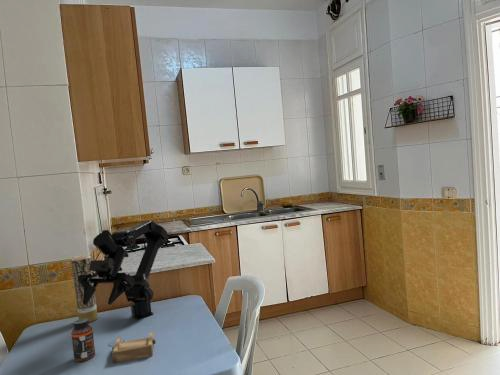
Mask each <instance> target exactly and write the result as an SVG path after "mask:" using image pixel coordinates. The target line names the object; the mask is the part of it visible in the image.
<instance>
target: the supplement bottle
mask: <svg viewBox="0 0 500 375" xmlns="http://www.w3.org/2000/svg"><path fill="white" fill-rule="evenodd" d="M89 323H90V322H88V319H80V320H79V319H77V320H74V322H73V329H72V330H71V332H70V334H71V335H70V336H71V341H72V352H73V359H74V361H75V362H84V361H89V360H90V359H92V358H94V356H95V355H96V348H95V347H96V346H95V341H94V340H95V339H94V329H93V326H92V325H91V324H89Z"/></svg>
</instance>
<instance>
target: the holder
mask: <svg viewBox="0 0 500 375" xmlns="http://www.w3.org/2000/svg"><path fill="white" fill-rule="evenodd" d="M156 342H157V341H156V339H155V336H154V331H153V330H152V331H150V332H149V336H148V337H143V338H139V339H134V340H130V341H122V337H121V336H119V337H117V339H116V341H115V344H114V346H112V348H111V350H112V352H111V356H112V363H113V364H116V363H117V364H118V363H122V362H127V361H133V360H138V359H142V358H146V357H147V358H148V357H152V356H153V355H154V345H155V344H156Z"/></svg>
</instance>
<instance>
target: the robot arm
mask: <svg viewBox="0 0 500 375" xmlns="http://www.w3.org/2000/svg"><path fill="white" fill-rule="evenodd" d="M142 236H143V237H144V238H145V242H146V247H145V249H144V252H143V254H142V257H141V260H140V262H139V264H138V268H137V269H136V273H135V274H134V275H130V273H129V272H123V268H122V265H123V261H124V259H125V258H129V253H128V250H127V249H125V248H127V247H131V246H133V245H134V244H135V243H136V242H137V241H136V240H137V239H138V238H140V237H142ZM168 237H169V236H168V231H167V230H166V229H165V228H164V227H163V226H162V225H159V224H157V223H156V222H155V221H153V220H142V221H141V222H140V223H138V224H135V225H134V226H133V227H130V228H128V229H124V230H118V231H117V230H116V231H114V232H112V233H111V232H110V230H109V229H104V230H102V231H101V232H100V233H99V234H97V235H96V236H95V237H94V238H93V240H92V243H93V245H94V246H95V248H97V250H99V251H100V252H101V254H102V255H103V256H104V255H105V256H106V257H105V258H104V260H103V259H102V260H101V259H98V260H97V259H96V260H91V261H90V266H89V271H92V272H95V273H94V274H95V275H96V277H95V276H94V274H93V275H92V274H81V275H79V278H78V280H77V281H78V282H79V283H80V284H81V285H82V286H83V289H84V298H83V304H84V305H86V304H87V303H88V302H89V300H90V299H91V297H92V295H93V294H94V292H95V293H96V290H97V287H98V284H113V285H112V286H113V287H112V289H111V292H110V295H109V297H108V301H107V304H108V305H109V306H110V305H113V303H114V302H115V301H116V300H117V299H118V298H119V297H120V296H121V295H122V294H124V295H125V297H126V300H127V302H130V303H131V305H130V312H131V314H130V316H131V317H133V319H134V318H135V319H136V320H140V319H143V318H146V317H149V316H152V315H154V312H153V311H152V305H151V301H152V300H153V298H154V290H152V289H151V288H150V282H149V276H150V273H151V271H152V267H153V265H154V262H155V259H156V256H157V254H158V251H159V249H160V248H161V247H163V246H164V245H165V243H166V241H167V239H168ZM124 247H125V248H124ZM97 276H98V277H97Z"/></svg>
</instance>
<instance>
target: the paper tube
mask: <svg viewBox="0 0 500 375" xmlns="http://www.w3.org/2000/svg"><path fill="white" fill-rule="evenodd" d="M90 261H92V257H91V254H83V255H78V256H74V257H72V258H71V266H72V267H71V268H72V274H73V276H72V277H73V284H74V292H75V299H76V301H75V302H76V309H77V316H78V317H77V318H78V320H80V319H88V322H89V323H92V322H95V321H96V320H97V319H98V309H97V299H96V291H95V292H94V294H93V295H92V297H91V299H90V300H89V302H88V303H87V304H86V305H84V304H83V298H84V289H83V286H82V285H81V284H80V283H79V282H78V281H77V280H78V278H79V275H81V274H92V275H93V276H94V274H93V271H89V266H90Z"/></svg>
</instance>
